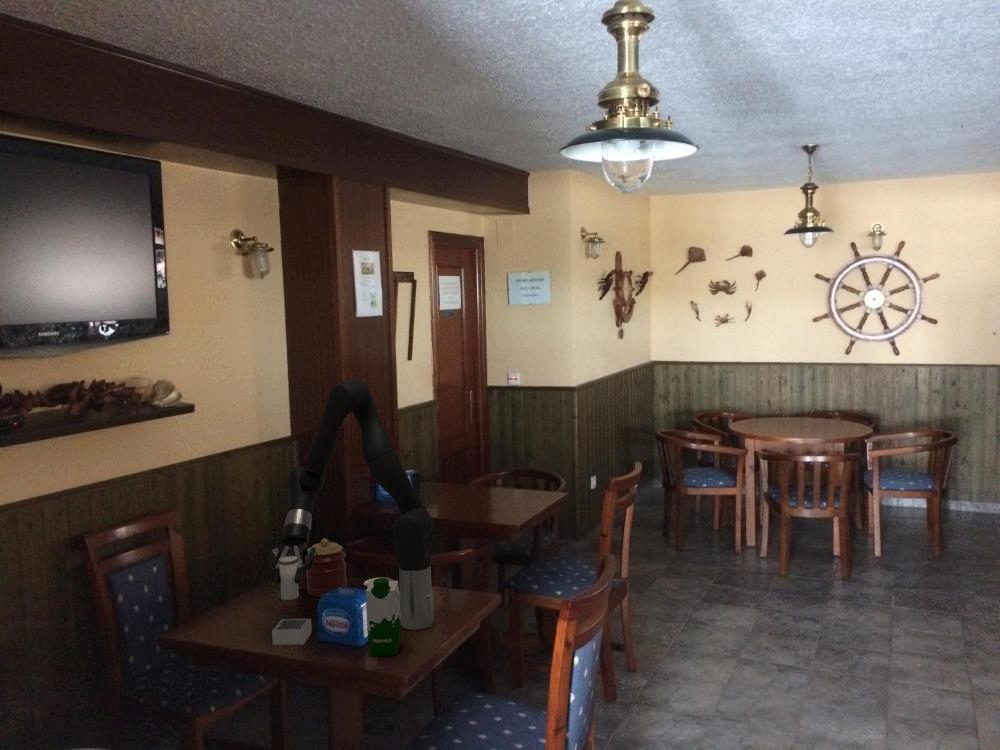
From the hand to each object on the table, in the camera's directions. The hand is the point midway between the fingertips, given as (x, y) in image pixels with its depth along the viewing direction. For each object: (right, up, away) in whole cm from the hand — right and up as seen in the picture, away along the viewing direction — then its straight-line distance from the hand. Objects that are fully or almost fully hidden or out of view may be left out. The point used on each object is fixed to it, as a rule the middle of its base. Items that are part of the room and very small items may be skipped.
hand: (287, 582), depth 230 cm
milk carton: (+28, -17, -7) cm, 34 cm away
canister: (+2, -14, +42) cm, 44 cm away
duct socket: (+1, -17, +3) cm, 17 cm away
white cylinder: (0, -5, +2) cm, 5 cm away
